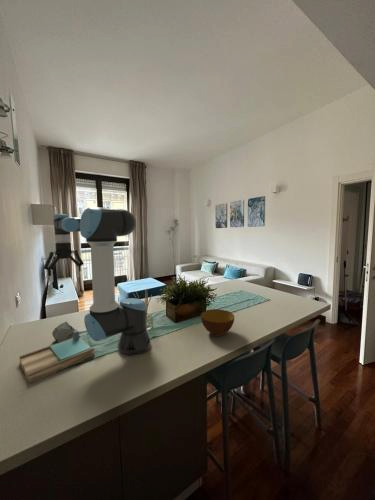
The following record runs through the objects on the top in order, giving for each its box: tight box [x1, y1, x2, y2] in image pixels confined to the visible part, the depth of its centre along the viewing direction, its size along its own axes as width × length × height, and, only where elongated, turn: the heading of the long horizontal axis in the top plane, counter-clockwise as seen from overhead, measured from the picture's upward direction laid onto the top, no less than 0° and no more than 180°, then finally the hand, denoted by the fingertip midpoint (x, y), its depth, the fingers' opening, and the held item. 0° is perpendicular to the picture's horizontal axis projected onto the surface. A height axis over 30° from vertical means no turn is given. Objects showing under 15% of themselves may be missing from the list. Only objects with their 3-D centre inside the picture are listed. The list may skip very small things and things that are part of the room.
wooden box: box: [19, 335, 95, 384], centre depth 94 cm, size 17×24×3 cm
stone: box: [51, 321, 76, 343], centre depth 110 cm, size 10×10×10 cm
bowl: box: [200, 308, 235, 337], centre depth 117 cm, size 18×18×10 cm
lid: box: [49, 329, 92, 361], centre depth 98 cm, size 15×12×5 cm
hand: (65, 279), depth 125 cm, fingers open, 13 cm apart
